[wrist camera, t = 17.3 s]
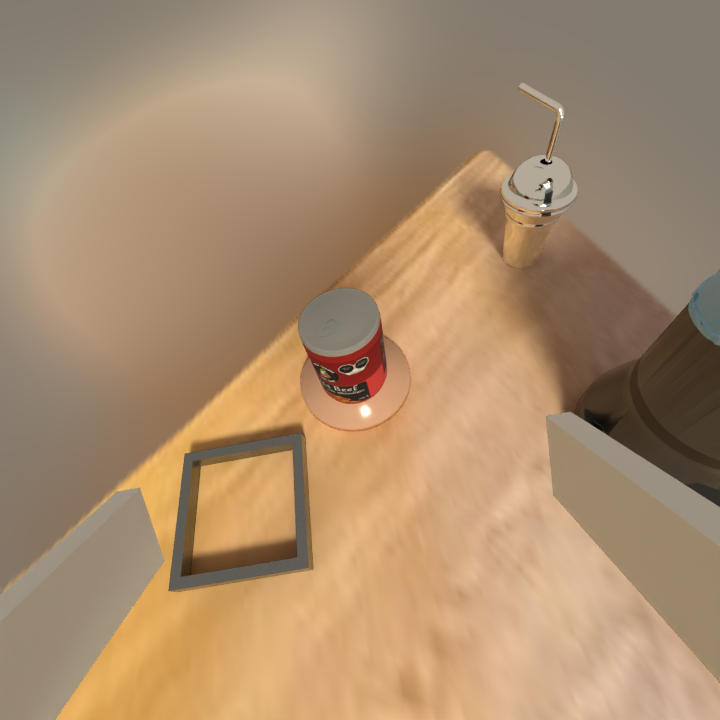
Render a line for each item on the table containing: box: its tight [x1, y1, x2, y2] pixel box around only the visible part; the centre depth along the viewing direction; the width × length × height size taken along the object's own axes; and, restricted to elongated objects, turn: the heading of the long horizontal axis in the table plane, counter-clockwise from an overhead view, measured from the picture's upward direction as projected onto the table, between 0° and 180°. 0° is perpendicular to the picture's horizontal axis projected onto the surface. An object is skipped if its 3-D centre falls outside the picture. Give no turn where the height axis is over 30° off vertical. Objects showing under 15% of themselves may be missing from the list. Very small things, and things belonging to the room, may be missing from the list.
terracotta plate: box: [301, 336, 410, 431], centre depth 46 cm, size 13×13×1 cm
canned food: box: [298, 288, 387, 404], centre depth 41 cm, size 8×8×11 cm
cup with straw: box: [499, 83, 578, 268], centre depth 45 cm, size 8×9×20 cm
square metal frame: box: [169, 433, 313, 592], centre depth 39 cm, size 13×13×2 cm
